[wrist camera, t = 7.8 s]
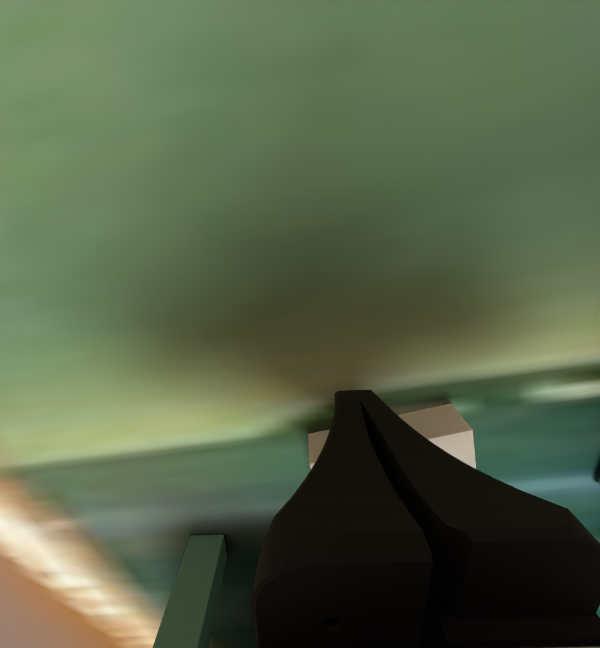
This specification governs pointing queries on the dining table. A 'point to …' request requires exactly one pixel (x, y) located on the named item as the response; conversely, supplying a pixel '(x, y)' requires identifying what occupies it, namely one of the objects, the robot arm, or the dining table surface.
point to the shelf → (194, 595)
